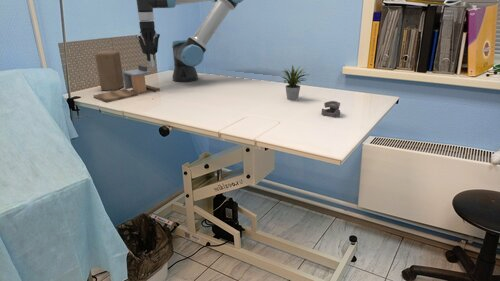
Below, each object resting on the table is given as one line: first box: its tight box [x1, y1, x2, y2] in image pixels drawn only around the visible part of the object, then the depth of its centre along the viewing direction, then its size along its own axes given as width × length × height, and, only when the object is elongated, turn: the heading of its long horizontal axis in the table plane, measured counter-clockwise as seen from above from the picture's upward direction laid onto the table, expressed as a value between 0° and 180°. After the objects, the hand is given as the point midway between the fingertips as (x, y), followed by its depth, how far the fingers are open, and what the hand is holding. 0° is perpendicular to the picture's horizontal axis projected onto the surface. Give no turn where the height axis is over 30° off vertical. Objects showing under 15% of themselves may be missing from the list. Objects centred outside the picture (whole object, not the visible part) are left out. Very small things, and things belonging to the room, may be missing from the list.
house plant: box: [281, 64, 310, 101], centre depth 169 cm, size 14×14×16 cm
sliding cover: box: [122, 64, 153, 90], centre depth 190 cm, size 10×12×12 cm
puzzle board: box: [93, 84, 161, 103], centre depth 188 cm, size 30×14×1 cm, turn 136°
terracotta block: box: [131, 74, 147, 94], centre depth 191 cm, size 5×5×9 cm
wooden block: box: [94, 50, 125, 91], centre depth 197 cm, size 10×10×20 cm
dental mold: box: [321, 100, 341, 119], centre depth 149 cm, size 8×7×5 cm
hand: (151, 66), depth 194 cm, fingers closed
